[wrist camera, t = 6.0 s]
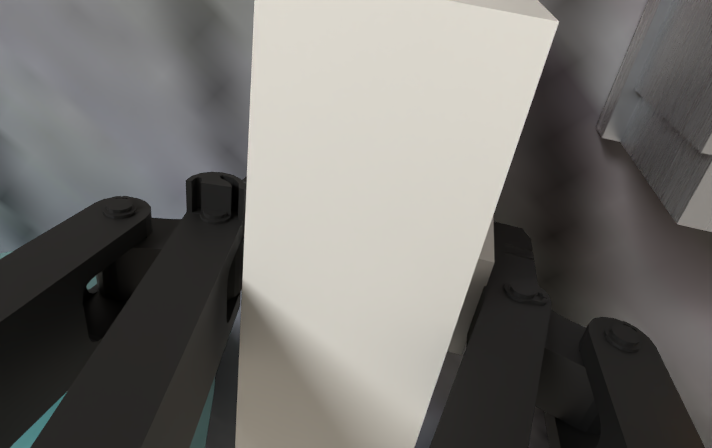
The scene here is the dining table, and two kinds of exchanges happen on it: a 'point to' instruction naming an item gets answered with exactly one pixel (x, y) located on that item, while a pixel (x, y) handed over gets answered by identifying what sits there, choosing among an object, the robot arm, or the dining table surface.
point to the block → (370, 204)
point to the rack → (668, 107)
